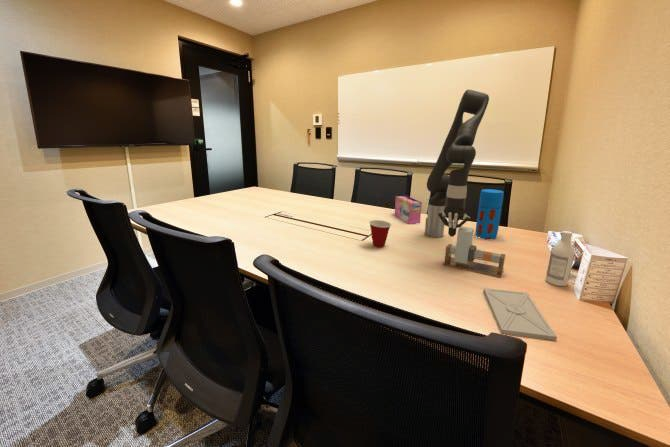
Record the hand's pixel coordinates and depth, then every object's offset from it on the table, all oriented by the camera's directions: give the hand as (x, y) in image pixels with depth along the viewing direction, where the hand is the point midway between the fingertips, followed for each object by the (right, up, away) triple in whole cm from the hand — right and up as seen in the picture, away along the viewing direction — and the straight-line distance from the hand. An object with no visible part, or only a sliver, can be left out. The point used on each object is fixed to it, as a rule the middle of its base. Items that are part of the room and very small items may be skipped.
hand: (451, 236), depth 132 cm
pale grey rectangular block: (+4, -10, 0) cm, 11 cm away
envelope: (+7, -24, -34) cm, 42 cm away
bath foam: (+34, -17, -15) cm, 41 cm away
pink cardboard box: (-3, +8, +71) cm, 71 cm away
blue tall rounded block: (+32, -2, +37) cm, 49 cm away
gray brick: (+7, -10, -2) cm, 12 cm away
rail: (+8, -13, -2) cm, 16 cm away
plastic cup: (-27, -6, +23) cm, 36 cm away
